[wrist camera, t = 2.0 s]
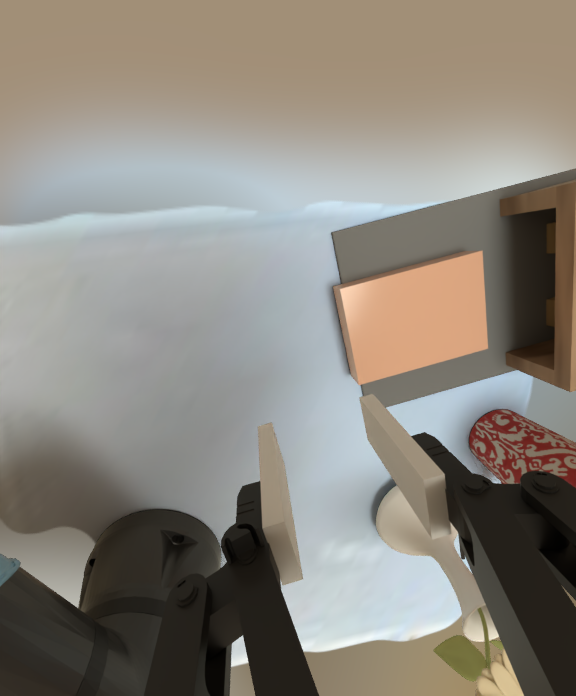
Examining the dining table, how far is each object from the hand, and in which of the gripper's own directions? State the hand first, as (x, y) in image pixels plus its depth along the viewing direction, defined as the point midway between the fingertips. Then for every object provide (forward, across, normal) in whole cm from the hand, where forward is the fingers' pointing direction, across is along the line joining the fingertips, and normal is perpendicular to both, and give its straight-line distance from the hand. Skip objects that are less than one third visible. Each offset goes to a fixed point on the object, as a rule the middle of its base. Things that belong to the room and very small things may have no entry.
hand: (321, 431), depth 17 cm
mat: (+17, +21, 0) cm, 27 cm away
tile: (+16, +13, 0) cm, 21 cm away
